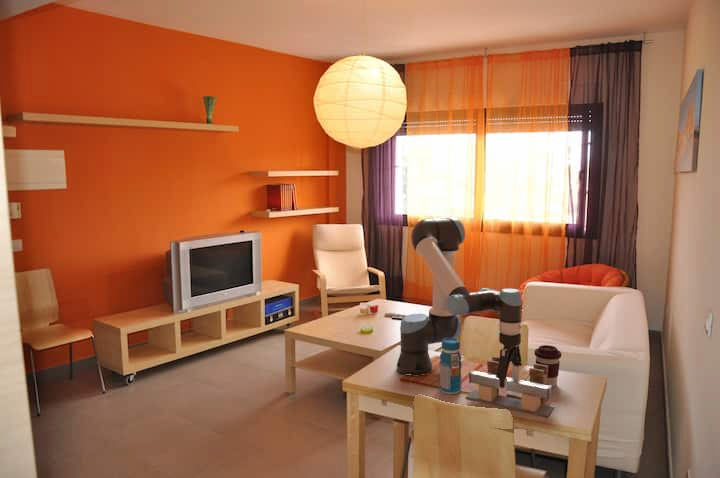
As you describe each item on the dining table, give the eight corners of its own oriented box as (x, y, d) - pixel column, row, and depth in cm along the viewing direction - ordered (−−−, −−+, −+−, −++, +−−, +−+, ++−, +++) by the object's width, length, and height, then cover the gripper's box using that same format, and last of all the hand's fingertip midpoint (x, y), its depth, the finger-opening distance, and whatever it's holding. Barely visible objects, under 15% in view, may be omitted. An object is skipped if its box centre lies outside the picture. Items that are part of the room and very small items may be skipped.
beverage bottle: (437, 393, 211) (437, 342, 209) (442, 384, 219) (442, 336, 216) (459, 396, 208) (459, 344, 206) (463, 387, 216) (463, 338, 213)
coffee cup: (531, 386, 216) (532, 349, 214) (536, 378, 225) (537, 342, 223) (558, 391, 211) (559, 353, 209) (561, 382, 220) (563, 345, 218)
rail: (469, 382, 207) (469, 372, 206) (472, 379, 210) (473, 369, 209) (548, 399, 191) (549, 388, 190) (551, 395, 194) (551, 385, 193)
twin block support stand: (465, 398, 206) (465, 384, 205) (473, 391, 213) (474, 377, 212) (547, 417, 190) (548, 401, 189) (553, 408, 196) (554, 393, 195)
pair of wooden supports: (485, 391, 212) (486, 360, 210) (491, 386, 217) (491, 355, 215) (543, 404, 200) (544, 371, 198) (548, 398, 205) (549, 366, 203)
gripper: (508, 343, 185) (507, 403, 188) (530, 325, 206) (529, 379, 209) (487, 339, 189) (486, 398, 192) (511, 322, 210) (510, 375, 213)
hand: (509, 389), depth 200 cm, fingers open, 13 cm apart
